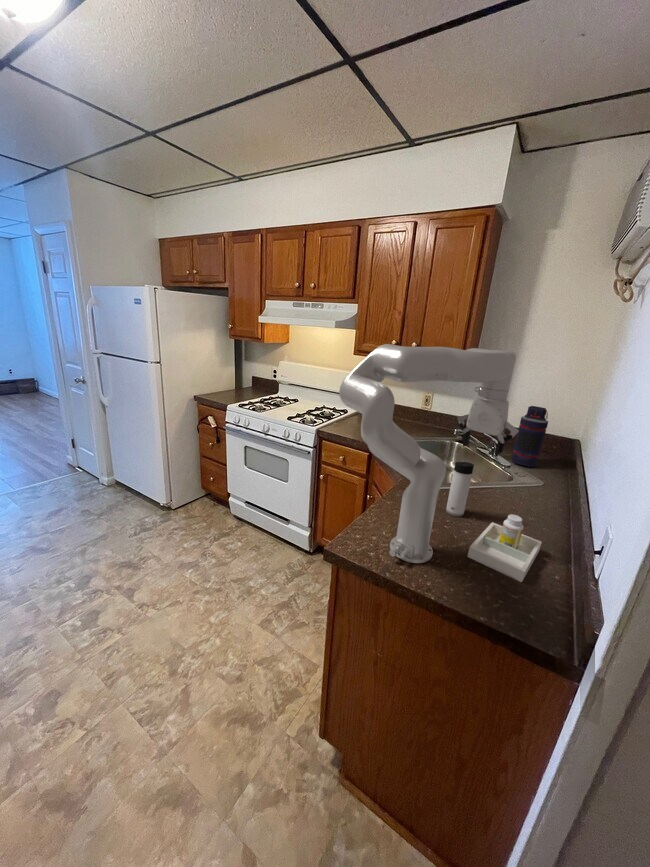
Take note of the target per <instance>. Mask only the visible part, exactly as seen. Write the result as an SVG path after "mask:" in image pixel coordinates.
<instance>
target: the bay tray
mask: <svg viewBox="0 0 650 867" xmlns="http://www.w3.org/2000/svg"><path fill="white" fill-rule="evenodd" d="M502 527H503V525H500V524H498V523H495V522H493V521H492V522H491V523H489V525H488V526H487V527H486V528H485V529H484V531H482V533H481V534H480V535H479V536H478V537H477V538H476V539H475V540H474V541H473V542H472V544H471V545H470V546H469V547H468V548H469V549H468V553H467V558H469V559H471V560H473V561H475V562H477V563H479V564H482V565H483V566H485V567H488V568H490V569H492V570H494V571H497V572H499V573H500V574H503V575H504V576H507V577H509V578H512V579H513V580H515V581H518V582H520V583H523V581H524V580H525V577H526V576H527V574H528V573H529V571H530V568H531V566H532V565H533V563H534V562H535V560H536V558H537V556H538V554H539V552H540V549H541V546H542V541H541V540H538V539H535V538H533V537H531V536H528V535H525V534H523V533H522V535H521V539H520V543H519V546H518V549H514V548H512V547H510V546H507V545H505V544H503V543H500V542H499V539H500V535H501V531H502Z"/></svg>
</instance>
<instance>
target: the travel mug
mask: <svg viewBox="0 0 650 867" xmlns="http://www.w3.org/2000/svg"><path fill="white" fill-rule="evenodd" d="M474 467H475V465H474V463H472V462H469V461H456V462H455V463H454V467H453V472H452V477H451V478H452V479H451V483H450V487H449V492H448V496H447V497H448V499H447V504H446V509H445V511H446V513H447V514H449V515H451V516H454V517H463V516H464V514H465V511H466V505H467V501H468V495H469V491H470V487H471V482H472V478H473V473H474V472H473V471H474Z"/></svg>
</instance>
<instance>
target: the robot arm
mask: <svg viewBox="0 0 650 867" xmlns="http://www.w3.org/2000/svg"><path fill="white" fill-rule="evenodd" d="M516 361H517V355H516V353H515V352H513V351H510V350H503V349H485V348H478V347H477V348H476V347H473V348H472V347H471V348H468V349H460V348H456V347H449V346H448V347H446V346H402V345H396V344H391V343H385V344H381V345H379V346H378V347H376V348H375V349H373V350H372V351H371V352H370V353H369V354H367V355H366V357H364V358H363V359H362V360H361V361H360V362H359V364H357V366H355V368H353V369H352V370H351V372H349V373H348V374H347V376H345V378H344V379H343V381H341V384H340V386H339V399H340V401H342V404H344V405H345V406H347V407H348V408H350V409H352V410H353V411H356V412H358V413H360V414H361V423H360V435H361V439H362V440H363V441H364V443H365V444H366V445H367V448H368V450H369V451H370V452H371V453H372V454H373V455H374V456H375V457H377V458H378V459H379V460H381V462H383V463H385V464H386V465H387V466H389V467H390V468H391V469H392V470H394V471H396V472H397V473H399V474H400V475H402V476H403V477H405V478H407V479H408V480H409V482H410V484H409V485H408V486H407V487H406V488H405V489H404V491H403V494H402V498H401V505H400V511H399V519H398V524H397V530H396V536H395V537H392V538H391V541H390V542H389V543H390V544H389V555H390V556H391V557H397V558H399V560H400V559H401V561H404V562H407V563H411V564H412V563H413V564H423V563H426V562H429V561H430V560H431V559H432V557H433V555H434V554H433V553H434V552H433V548H432V546H431V545H430V538H431V534H432V528H433V525H434V524H433V522H434V517H435V513H436V506H437V501H438V498H439V497H438V496H439V492H440V489H441V487H442V485H443V483H444V480H445V477H446V473H447V467H446V465H445V463H444V461H443V459H441V458H440V457H439V456H437V455H436V454H434V453H433V452H430V451H428V450H426V449H424V448H422V447H420V445H419V444H418V442H417V441H416V439H414V437H412V436H411V435H409V434H408V433H407V432H405V431H404V430H403V429H402V428H400V427H399V426H398V424H396V423H395V422H394V421H393V418H394V417H393V415H394V410H395V404H396V403H395V401H396V400H395V395H394V393H393V391H392V390H391V388H390V387H389V386H387V385H386V384H384V383H382V382H383V381H384V380H385V379H388V380H391V381H393V382H394V381H395V382H397V383H424V382H450V383H451V382H452V383H480V386H478V387H477V386H476V387H474V392H475V393H477V395H475V397H474V399H473V401H472V404H471V405H470V406H471V407H470V409H469V413H468V414H464V415H460V416H458V417H457V422H458V425H459V426H458V427H459V428H460V429H461V431H462V432H461V433H462V439H461V443H462V447H466V446H468V445H469V444H470V440H471V439H470V438H471V434H472V433H471V431H475V432H477V433H483V434H485V435H489V436H495V437H496V438H497V439H498V441H497V444H496V448H495V452H494V455H495V456H497V457H498V456H499V455H501V454H502V453H503V452H504V449H505V443H506V442H509V441H510V440H512V439H513V438H514V437H515V436H517V433H518V432H519V431H518V429H519V428H516V427H515V426H514V425H512V424H511V423H510V422H509V421H508V418H509V405H510V404H509V403H510V402H509V401H508V400H507V399H508V395H509V391H510V387H511V382H512V378H513V374H514V369H515V364H516ZM465 420H467V421H466V424H465ZM506 429H507V430H509V432H510V433H509V434H507V435H506V434H505V432H506Z"/></svg>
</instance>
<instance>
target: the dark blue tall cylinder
mask: <svg viewBox="0 0 650 867" xmlns="http://www.w3.org/2000/svg"><path fill="white" fill-rule="evenodd" d="M548 416H549V413H548V410H547V409H546V408H545V407H541V406H536V405H535V406H534V405H531V406H528V408H527V412H526V414H525V415H523V416H521V417H520V421H519V425H518V428H517V429H518V431H519V432H518V433H517V434H516V438H515V442H514V444H513V445H514V446H513V449H512V450H513V451H512V454H511V458H510V460H511V461H512V464H513V463H515V464H516V465H520V466H525V467H527V468H528V467H532V468H533V467H537V465H538V461H539V458H540V455H541V451H542V447H543V443H544V439H545V436H546V432H547V428H548V424H549V421H548V418H549V417H548ZM515 464H514V465H515Z"/></svg>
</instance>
